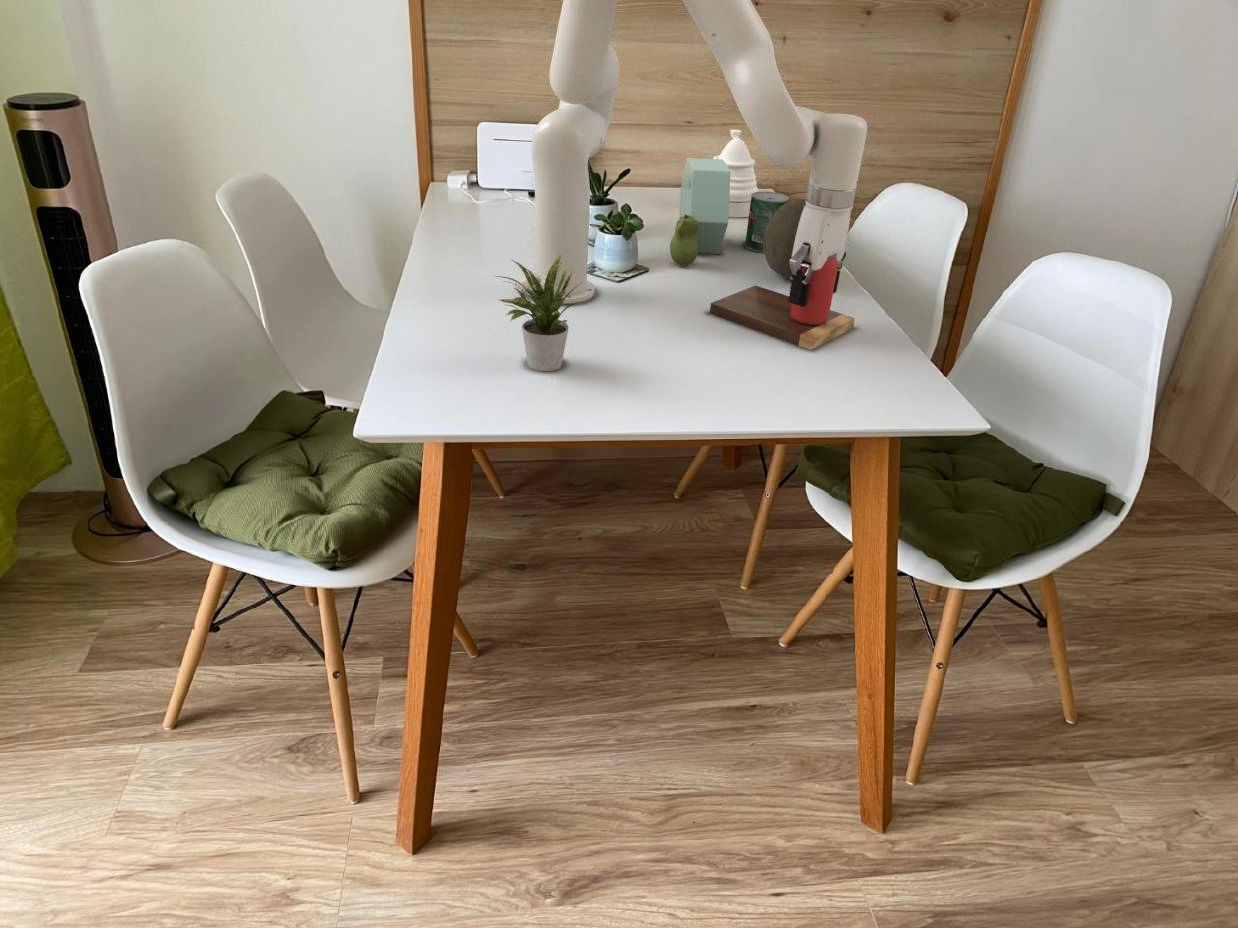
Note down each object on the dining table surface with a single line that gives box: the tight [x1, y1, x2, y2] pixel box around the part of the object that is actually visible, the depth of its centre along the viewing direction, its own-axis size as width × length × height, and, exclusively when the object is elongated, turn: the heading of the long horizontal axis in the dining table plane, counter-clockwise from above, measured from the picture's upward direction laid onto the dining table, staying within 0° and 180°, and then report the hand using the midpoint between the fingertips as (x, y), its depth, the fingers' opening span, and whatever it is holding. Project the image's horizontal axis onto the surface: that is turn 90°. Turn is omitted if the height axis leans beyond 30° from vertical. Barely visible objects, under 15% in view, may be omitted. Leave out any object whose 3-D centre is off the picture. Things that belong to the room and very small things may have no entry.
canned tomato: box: [744, 190, 790, 254], centre depth 194 cm, size 8×8×11 cm
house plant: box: [493, 256, 586, 372], centre depth 137 cm, size 14×14×16 cm
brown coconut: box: [763, 198, 806, 281], centre depth 177 cm, size 14×14×15 cm
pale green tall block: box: [678, 157, 730, 255], centre depth 190 cm, size 17×8×21 cm
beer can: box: [790, 254, 838, 325], centre depth 154 cm, size 7×7×12 cm
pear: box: [669, 214, 699, 267], centre depth 181 cm, size 6×5×10 cm
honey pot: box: [712, 129, 759, 218], centre depth 216 cm, size 13×13×18 cm
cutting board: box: [709, 285, 856, 351], centre depth 160 cm, size 14×21×2 cm, turn 48°
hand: (812, 297), depth 155 cm, fingers open, 9 cm apart
